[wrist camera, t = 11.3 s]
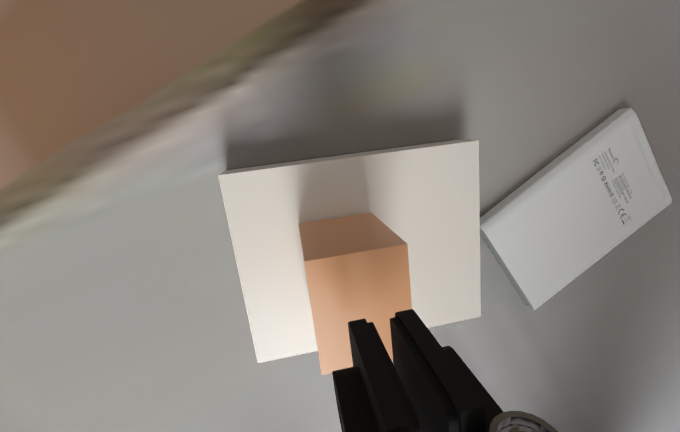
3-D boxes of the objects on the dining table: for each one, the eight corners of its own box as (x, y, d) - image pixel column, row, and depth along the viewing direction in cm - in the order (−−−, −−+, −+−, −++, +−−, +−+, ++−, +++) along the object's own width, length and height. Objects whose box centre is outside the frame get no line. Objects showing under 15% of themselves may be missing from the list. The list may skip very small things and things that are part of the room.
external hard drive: (467, 220, 23) (611, 108, 23) (520, 301, 25) (652, 200, 25) (480, 227, 21) (636, 106, 21) (536, 312, 24) (677, 204, 23)
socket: (456, 139, 21) (478, 140, 18) (460, 298, 24) (480, 316, 21) (226, 170, 19) (217, 175, 17) (260, 338, 22) (257, 363, 19)
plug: (361, 203, 20) (407, 243, 13) (368, 277, 22) (414, 354, 14) (296, 213, 20) (304, 261, 12) (307, 288, 21) (321, 375, 14)
